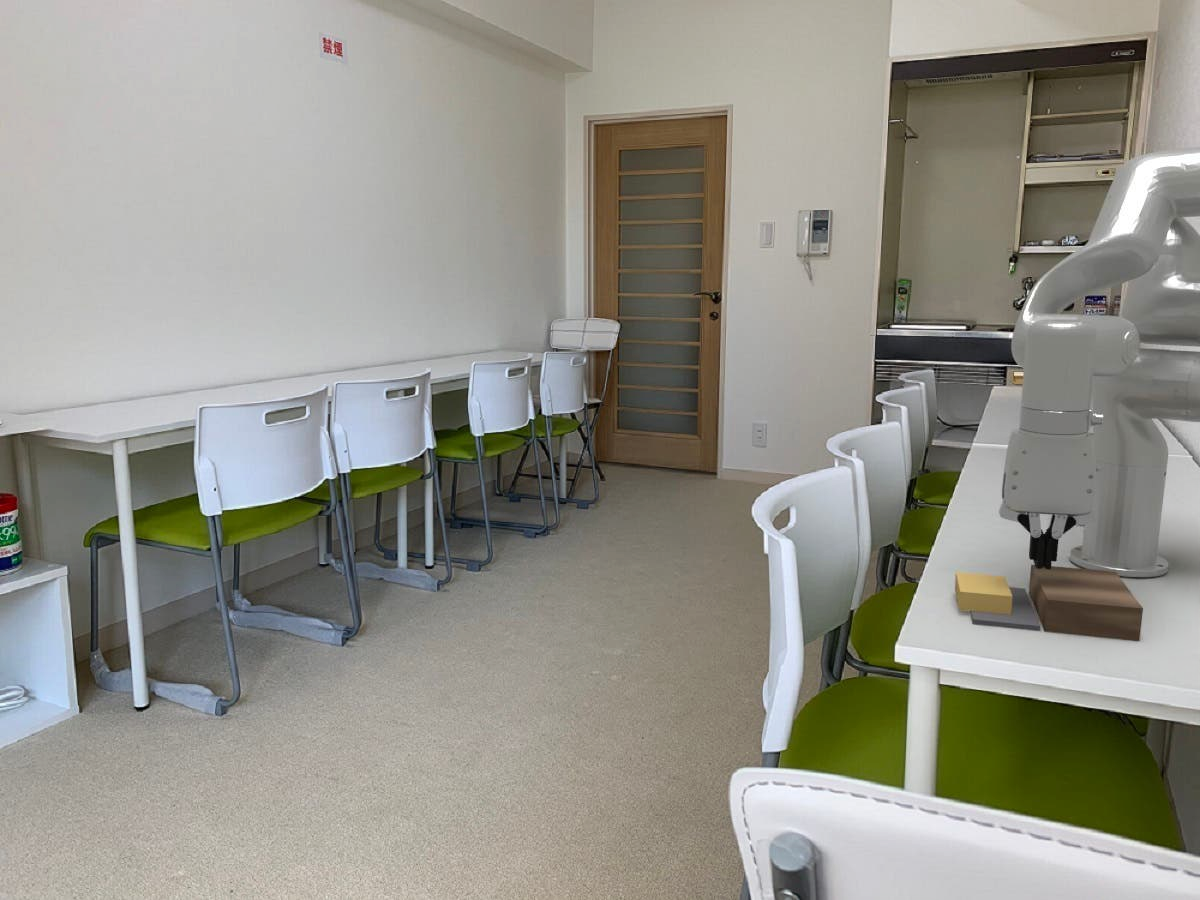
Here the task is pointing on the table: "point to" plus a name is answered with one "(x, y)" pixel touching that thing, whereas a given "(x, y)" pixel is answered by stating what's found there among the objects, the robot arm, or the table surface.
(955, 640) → the table surface
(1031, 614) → the charcoal mat
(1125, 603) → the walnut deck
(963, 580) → the ochre tile
